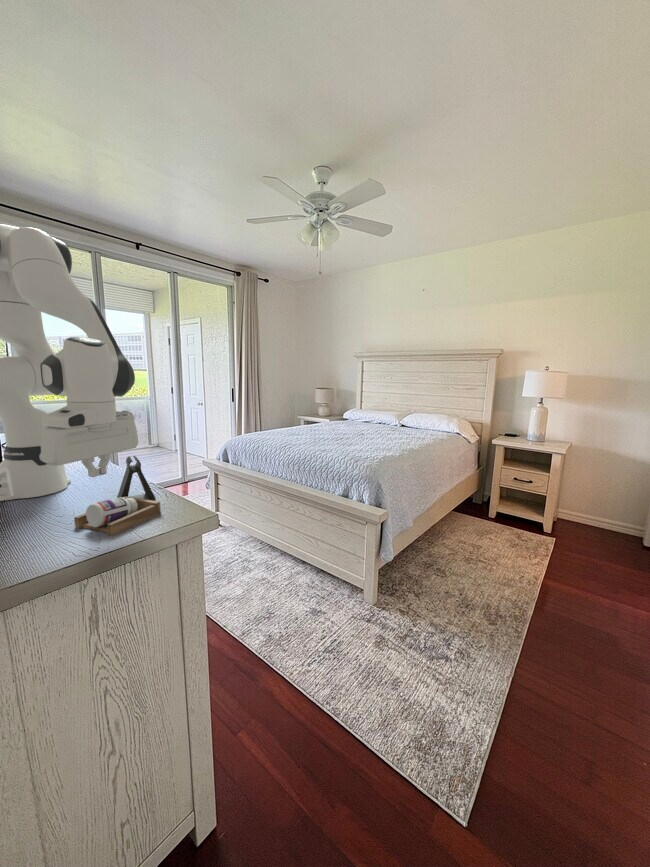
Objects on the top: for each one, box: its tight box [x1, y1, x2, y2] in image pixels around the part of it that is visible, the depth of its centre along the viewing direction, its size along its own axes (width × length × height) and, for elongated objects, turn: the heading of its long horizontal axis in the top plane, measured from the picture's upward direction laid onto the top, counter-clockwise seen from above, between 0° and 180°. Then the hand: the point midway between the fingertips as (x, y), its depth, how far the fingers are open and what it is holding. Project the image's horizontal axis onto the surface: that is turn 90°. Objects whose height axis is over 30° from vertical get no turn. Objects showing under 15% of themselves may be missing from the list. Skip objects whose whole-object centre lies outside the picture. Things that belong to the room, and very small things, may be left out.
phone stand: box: [116, 455, 157, 501], centre depth 98 cm, size 9×6×12 cm, turn 124°
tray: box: [73, 495, 162, 537], centre depth 85 cm, size 11×14×3 cm
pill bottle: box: [85, 497, 138, 527], centre depth 83 cm, size 5×5×10 cm
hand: (97, 475), depth 80 cm, fingers closed
